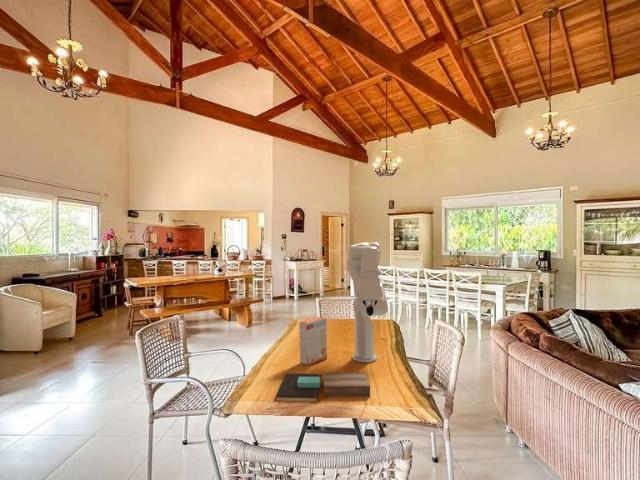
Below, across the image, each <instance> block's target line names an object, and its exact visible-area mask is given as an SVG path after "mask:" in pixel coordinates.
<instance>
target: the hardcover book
mask: <svg viewBox="0 0 640 480" xmlns="http://www.w3.org/2000/svg"><path fill="white" fill-rule="evenodd" d="M299 377H320V383H321V382H322V381H321V380H322V375H321V374H320V373H297V372H296V373H294V372H293V373H292V372H291V373H290V372H289V373H287V372H286V373H285V374H284V376H283V379H282V381H281V383H280V385H279V388H278V389H277V392H276V395H275V398H276V401H284V402H285V401H288V402H290V401H293V402H298V401H299V402H318V401H319V399H318V398H319V392H320V388H308V387H297V382H298V378H299Z"/></svg>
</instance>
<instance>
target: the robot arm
mask: <svg viewBox="0 0 640 480" xmlns="http://www.w3.org/2000/svg"><path fill="white" fill-rule="evenodd" d="M348 247H349V248H348V250H347V256H348V258H347V263H346V264H347V266H346V268H347V270H348V271H347V272H348V274H349V276H350V278H351V280H352V283H353V284H352V286H353V293H354V297H355V298H354V299H353V301H352V309H353V315H354V353H353V354H352V355H351V359H352V360H354V361H355V362H358V363H372V362H376V361H377V359H378V356H377V355H376V354H375V351H374V350H375V347H374V344H375V342H374V341H375V340H374V339H375V334H374V332H375V331H374V327H375V325H374V322H373V321H372V320H371V318H370V317H373V316H375V317H376V316H385V315H387V313H388V311H389V309H388V307H389V306H388V305H389V304H388V301H387V297H386V290H385V288H384V285H383V284H382V283H381V279H380V276H381V275H382V271H379V263H380V259H381V253H382V251H381V246H380V244H379V243H378V242H375V241H373V242H372V241H371V242H370V241H369V242H363V241H362V242H358V243H356V244H353V245H350V246H348Z"/></svg>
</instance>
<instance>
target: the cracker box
mask: <svg viewBox="0 0 640 480" xmlns="http://www.w3.org/2000/svg"><path fill="white" fill-rule="evenodd" d="M298 323H299V324H298V325H299V329H298V330H299V358H300V359H299V361H300V364H302V365H305V366H310V365H313V364H316V363H319V362H322V361H324V360H326V359H328V342H327V341H328V339H327V337H328V333H327V318H325V317H321V316H317V317H315V318H314V317H312V318H310V319H309V318H308V319H306V320H300V321H299V322H298Z"/></svg>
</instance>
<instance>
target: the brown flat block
mask: <svg viewBox="0 0 640 480" xmlns="http://www.w3.org/2000/svg"><path fill="white" fill-rule="evenodd" d="M323 397H324V398H327V397H328V398H332V397H338V398H340V397H341V398H344V397H345V398H346V397H350V398H351V397H371V385H370V382H369V379H368V375H367V373H366V372H364V371H363V372H323Z"/></svg>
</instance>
